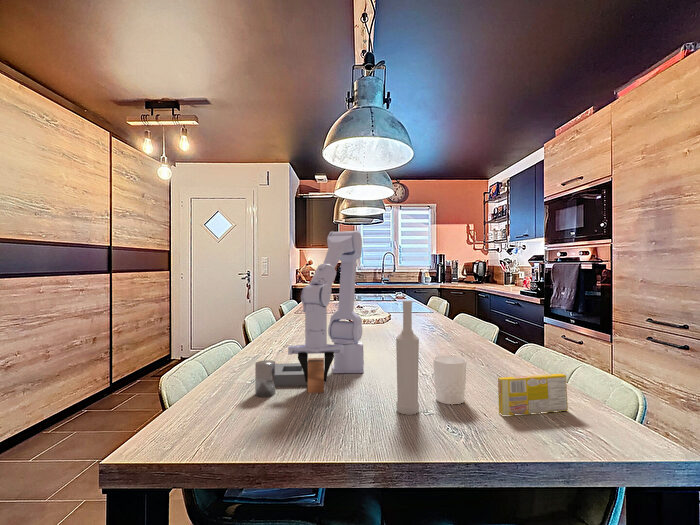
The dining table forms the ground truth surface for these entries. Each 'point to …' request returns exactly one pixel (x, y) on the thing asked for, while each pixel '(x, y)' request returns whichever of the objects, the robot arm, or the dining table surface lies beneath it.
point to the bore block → (289, 374)
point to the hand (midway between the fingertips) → (315, 380)
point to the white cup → (450, 379)
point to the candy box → (532, 394)
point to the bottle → (407, 365)
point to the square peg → (315, 375)
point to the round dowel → (265, 378)
